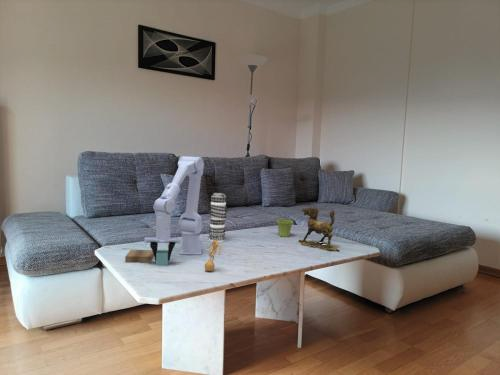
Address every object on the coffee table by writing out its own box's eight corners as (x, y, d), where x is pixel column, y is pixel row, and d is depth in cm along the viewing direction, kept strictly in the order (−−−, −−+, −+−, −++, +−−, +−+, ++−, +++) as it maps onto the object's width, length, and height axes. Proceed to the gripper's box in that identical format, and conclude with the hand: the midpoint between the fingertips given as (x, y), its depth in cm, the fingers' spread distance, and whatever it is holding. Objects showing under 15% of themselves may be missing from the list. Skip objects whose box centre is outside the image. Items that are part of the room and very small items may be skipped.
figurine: (308, 239, 203) (310, 203, 201) (346, 249, 184) (349, 210, 182) (292, 242, 194) (294, 205, 192) (330, 253, 175) (333, 212, 173)
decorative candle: (204, 239, 191) (206, 192, 188) (217, 237, 198) (219, 192, 195) (216, 243, 185) (218, 194, 182) (229, 240, 192) (231, 193, 189)
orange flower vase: (198, 269, 143) (199, 239, 142) (210, 266, 147) (211, 237, 146) (212, 274, 137) (213, 244, 136) (224, 271, 142) (225, 241, 140)
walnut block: (154, 256, 158) (154, 250, 158) (150, 263, 149) (150, 256, 148) (130, 256, 157) (130, 249, 157) (125, 263, 147) (125, 256, 147)
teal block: (168, 261, 151) (169, 250, 150) (167, 265, 146) (167, 253, 146) (157, 261, 150) (157, 250, 150) (156, 265, 146) (156, 253, 145)
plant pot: (294, 237, 205) (295, 222, 204) (278, 237, 203) (279, 222, 202) (289, 234, 214) (290, 219, 213) (273, 234, 212) (274, 219, 211)
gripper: (143, 229, 142) (142, 262, 143) (180, 230, 143) (179, 263, 145) (146, 225, 149) (145, 257, 150) (182, 226, 150) (181, 258, 152)
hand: (162, 260), depth 148 cm, fingers closed on teal block, 4 cm apart
